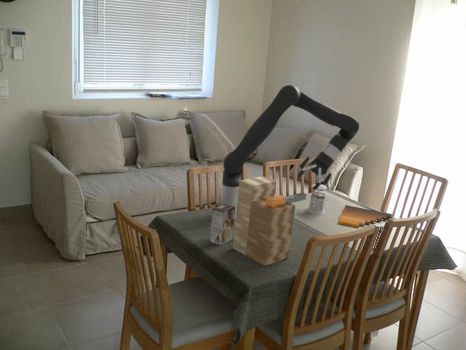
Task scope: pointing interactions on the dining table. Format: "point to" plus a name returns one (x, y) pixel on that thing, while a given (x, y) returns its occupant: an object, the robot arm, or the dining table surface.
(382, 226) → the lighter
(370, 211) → the pan flute
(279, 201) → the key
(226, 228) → the coffee box
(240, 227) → the stand
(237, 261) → the dining table surface
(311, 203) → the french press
